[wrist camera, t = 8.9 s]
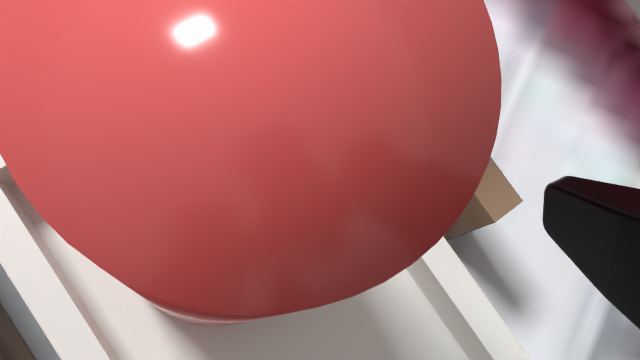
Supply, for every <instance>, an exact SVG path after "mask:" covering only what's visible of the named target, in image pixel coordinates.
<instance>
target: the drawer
mask: <svg viewBox="0 0 640 360" xmlns="http://www.w3.org/2000/svg"><path fill="white" fill-rule="evenodd" d="M521 202H522V199H521V198H520V196H519V195H518V194H517V192H516V191H515V190H514V188H513V187H512V185H511V184H510V183H509V181H508V180H507V179H506V177H505V176H504V175H503V173H502V172H501V170H500V169H499V168H498V166H497V165H496V164H495V162H494V161H493V159H492V158H491V157H490V159H489V162H488V166H487V168H486V170H485V172H484V174H483V177H482V179H481V181H480V183H479V185H478V187H477V190H476V192H475V194H474V195H473V197H472V198H471V200H470V201H469V203H468V204H467V206H466V208H465V209H464V211H463V212H462V214H461V215H460V217H459V218H458V220H457V221H456V222H455V223H454V224H453V225H452V227H451V228H450V229H449V230H448V231H447V232H446V233H445V235H444V236H443V237H444V238H445V239H446V240H448V239H451V238H453V237H456V236H459V235H462V234H464V233H467V232H470V231H473V230H476V229H478V228H481V227H484V226H487V225H490V224H492V223H495V222H496V221H498V220H499V219H500V218H502V217H503V216H504V215H505V214H507V213H508V212H509V211H511V210H512V209H513V208H515V207H516V206H517V205H519V204H520V203H521ZM0 360H35V358H34V356H33V355H32V353H31V352H30V350H29V348H28V347H27V345H26V344H25V342H24V340H23V339H22V337H21V336H20V334H19V332H18V331H17V329H16V328H15V326H14V324H13V323H12V321H11V320H10V318H9V316H8V315H7V313H6V312H5V310H4V308H3V307H2V305H1V304H0Z"/></svg>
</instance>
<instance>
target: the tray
mask: <svg viewBox="0 0 640 360" xmlns="http://www.w3.org/2000/svg"><path fill="white" fill-rule="evenodd" d="M0 263H1V265H2V267H3V268H4V270H5V271H6V273H7V275H8V276H9V278H10V279H11V281H12V282H13V284H14V286H15V287H16V289H17V290H18V292H19V294H20V295H21V297H22V298H23V300H24V301H25V303H26V305H27V306H28V308H29V309H30V311H31V313H32V314H33V316H34V317H35V319H36V321H37V322H38V324H39V325H40V327H41V328H42V330H43V332H44V333H45V335H46V336H47V338H48V340H49V341H50V343H51V344H52V346H53V347H54V349H55V351H56V352H57V354H58V355H59V357H60V359H61V360H531V359H530V358H529V356H528V355H527V353H526V352H525V351H524V349H523V348H522V346H521V345H520V344H519V342H518V341H517V339H516V338H515V337H514V335H513V334H512V332H511V331H510V329H509V328H508V327H507V325H506V324H505V322H504V321H503V320H502V318H501V317H500V315H499V314H498V313H497V311H496V310H495V308H494V307H493V306H492V304H491V303H490V301H489V300H488V299H487V297H486V296H485V294H484V293H483V291H482V290H481V289H480V287H479V286H478V284H477V283H476V282H475V280H474V279H473V277H472V276H471V275H470V273H469V272H468V270H467V269H466V268H465V266H464V265H463V263H462V262H461V260H460V259H459V258H458V256H457V255H456V253H455V252H454V251H453V249H452V248H451V246H450V245H449V244H448V242H447V241H446V239H445V238H444V237H442V238H441V239H440V240H439V241H438V243H437V244H435V245H434V246H433V247H432V248H431V249H430V250H428V251H427V252H426V253H425V254H424V255H423V256H422V257H420V258H419V259H418V260H417V261H416V262H415V263H413V264H412V265H411V266H409V267H407V268H406V269H404V270H403V271H401V272H400V273H398V274H397V275H395V276H393V277H392V278H390V279H389V280H387V281H386V282H384V283H382V284H380V285H378V286H375V287H373V288H371V289H369V290H367V291H365V292H362V293H360V294H358V295H356V296H354V297H351V298H347V299H344V300H341V301H337V302H334V303H331V304H328V305H324V306H321V307H317V308H312V309H307V310H303V311H298V312H293V313H288V314H283V315H278V316H273V317H268V318H264V319H259V320H254V321H249V322H244V323H239V324H234V325H227V326H202V325H196V324H192V323H188V322H184V321H182V320H179V319H177V318H174V317H172V316H170V315H169V314H167V313H165V312H163V311H162V310H160V309H159V308H157V307H156V306H154V305H153V304H152V303H150V302H149V301H147V300H146V299H144V298H143V297H141V296H140V295H139V294H137V293H136V292H134V291H133V290H131V289H130V288H129V287H127V286H126V285H124V284H123V283H121V282H120V281H118V280H117V279H116V278H114V277H113V276H111V275H110V274H108V273H107V272H105V271H104V270H103V269H101V268H100V267H98V266H97V265H96V264H94V263H93V262H92V261H90V260H89V259H88V258H86V257H85V256H84V255H82V254H81V253H80V252H78V251H77V250H76V249H75V248H73V247H72V246H71V245H69V244H68V243H67V242H66V241H65V240H64V239H63V238H62V237H61V236H60V235H59V234H58V233H57V232H56V231H55V230H54V229H53V228H52V227H51V226H50V225H49V224H48V223H47V222H46V221H45V220H44V219H43V218H42V217H41V216H40V215H39V214H38V212H37V211H36V210H35V208H34V207H33V206H32V204H31V203H30V202H29V200H28V199H27V198H26V196H25V195H24V194H23V192H22V191H21V190H20V188H19V187H18V186H17V184H16V182H15V180H14V179H13V177H12V175H11V173H10V171H9V169H8V168H7V166H6V164H5V162H4V160H3V158H2V156H1V155H0Z"/></svg>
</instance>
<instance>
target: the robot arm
mask: <svg viewBox="0 0 640 360" xmlns="http://www.w3.org/2000/svg"><path fill="white" fill-rule="evenodd" d="M543 225H544V228H545V230H546V232H547V233H548V235H549V236H550V237H551V238H552V239H553V240H554V241H555V243H556V244H557V245H558V246H559V247H560V248H561V249H562V250H563V251H564V253H565V254H566V255H567V256H568V257H569V258H570V259H571V260H572V261H573V263H574V264H575V265H576V266H577V267H578V268H579V269H580V270H581V272H582V273H583V274H584V275H585V276H586V277H587V278H588V279H589V280H590V282H591V283H592V284H593V285H594V286H595V287H596V288H597V289H598V290H599V291H600V292H601V293H602V294H603V296H604V297H605V298H606V299H607V300H609V301H610V302H611V303H612V304H613V305H614V306H615V307H616V308H617V309H618V310H619V311H620V312H621V313H622V314H623V315H625V316H626V317H627V318H628V319H629V320H630V321H631V322H632V323H633V324H634V325H635V326H637V327H638V328H639V329H640V189H637V188H632V187H627V186H621V185H616V184H610V183H605V182H600V181H594V180H589V179H584V178H578V177H573V176H565V177H562V178H560V179H558V180H556V181H554V182H552V183H550V184H548V185H547V186H546V188H545V191H544V205H543Z"/></svg>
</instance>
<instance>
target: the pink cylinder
mask: <svg viewBox="0 0 640 360" xmlns="http://www.w3.org/2000/svg"><path fill="white" fill-rule="evenodd" d="M500 109H501V71H500V62H499V53H498V47H497V43H496V39H495V35H494V30H493V26H492V22H491V19H490V17H489V14H488V11H487V9H486V6H485V3H484V0H0V155H1V156H2V158H3V160H4V162H5V164H6V166H7V168H8V169H9V171H10V173H11V175H12V177H13V179H14V180H15V182H16V184H17V186H18V187H19V188H20V190H21V191H22V192H23V194H24V195H25V196H26V198H27V199H28V200H29V202H30V203H31V204H32V206H33V207H34V208H35V210H36V211H37V212H38V214H39V215H40V216H41V217H42V218H43V219H44V220H45V221H46V222H47V223H48V224H49V225H50V226H51V227H52V228H53V229H54V230H55V231H56V232H57V233H58V234H59V235H60V236H61V237H62V238H63V239H64V240H65V241H66V242H67V243H68V244H69V245H71V246H72V247H73V248H75V249H76V250H77V251H78V252H80V253H81V254H82V255H84V256H85V257H86V258H88V259H89V260H90V261H92V262H93V263H94V264H96V265H97V266H98V267H100V268H101V269H103V270H104V271H105V272H107V273H108V274H110V275H111V276H113V277H114V278H116V279H117V280H118V281H120V282H121V283H123V284H124V285H126V286H127V287H129V288H130V289H131V290H133V291H134V292H136V293H137V294H139V295H140V296H141V297H143V298H144V299H146V300H147V301H149V302H150V303H152V304H153V305H154V306H156V307H157V308H159V309H160V310H162V311H163V312H165V313H167V314H169V315H170V316H172V317H174V318H177V319H179V320H182V321H184V322H188V323H192V324H196V325H202V326H227V325H234V324H239V323H244V322H249V321H254V320H259V319H264V318H268V317H273V316H278V315H283V314H288V313H293V312H298V311H303V310H307V309H312V308H317V307H321V306H324V305H328V304H331V303H334V302H337V301H341V300H344V299H347V298H351V297H354V296H356V295H358V294H360V293H362V292H365V291H367V290H369V289H371V288H373V287H375V286H378V285H380V284H382V283H384V282H386V281H387V280H389V279H390V278H392V277H393V276H395V275H397V274H398V273H400V272H401V271H403V270H404V269H406V268H407V267H409V266H411V265H412V264H413V263H415V262H416V261H417V260H418V259H419V258H420V257H422V256H423V255H424V254H425V253H426V252H427V251H428V250H430V249H431V248H432V247H433V246H434V245H435V244H437V243H438V241H439V240H440V239H441V238H442V237H443V236H444V235H445V233H446V232H447V231H448V230H449V229H450V228H451V227H452V225H453V224H454V223H455V222H456V221H457V220H458V218H459V217H460V215H461V214H462V212H463V211H464V209H465V208H466V206H467V204H468V203H469V201H470V200H471V198H472V197H473V195H474V194H475V192H476V190H477V187H478V185H479V183H480V181H481V179H482V177H483V174H484V172H485V170H486V168H487V166H488V162H489V159H490V156H491V153H492V149H493V146H494V143H495V139H496V135H497V129H498V122H499V116H500Z"/></svg>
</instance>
